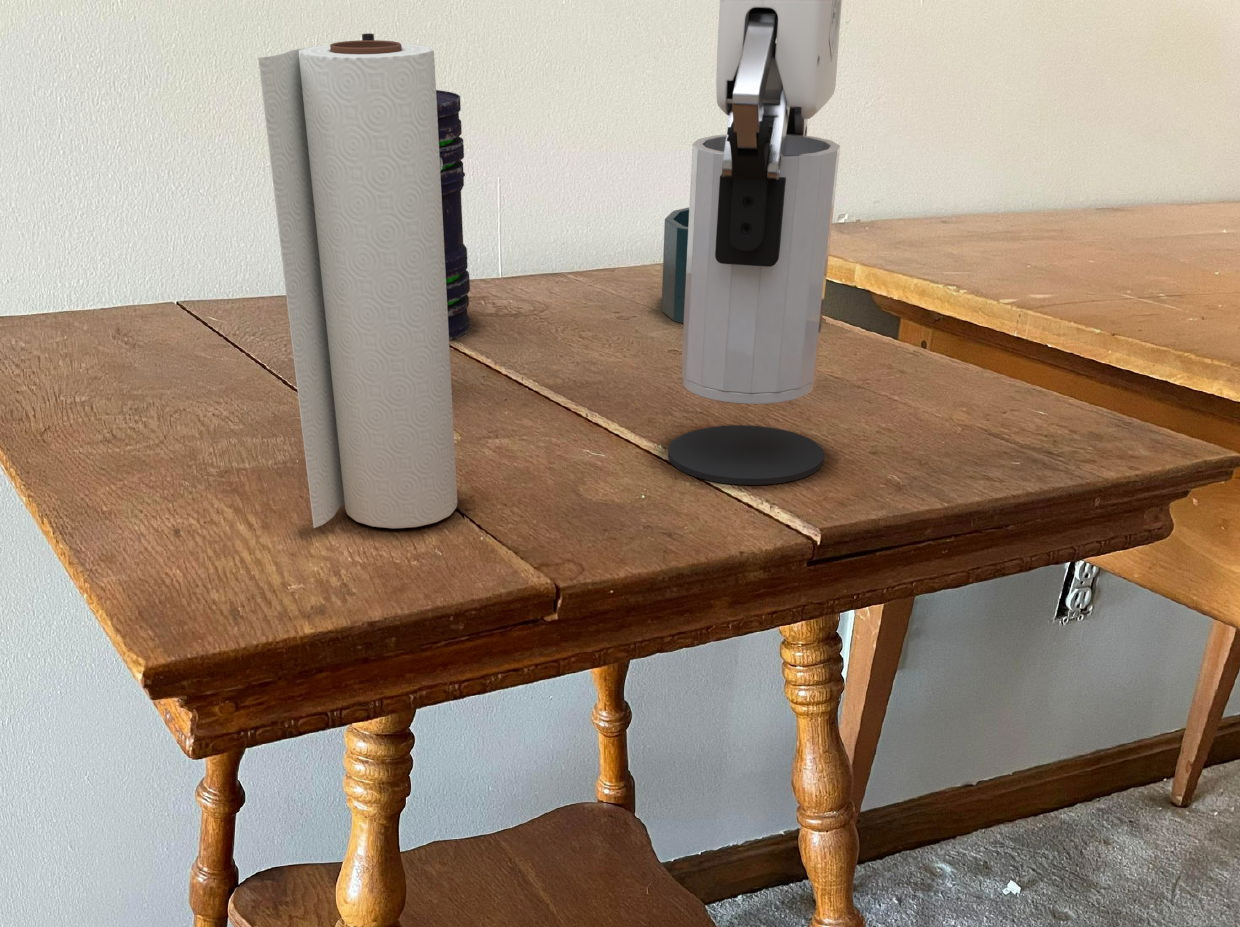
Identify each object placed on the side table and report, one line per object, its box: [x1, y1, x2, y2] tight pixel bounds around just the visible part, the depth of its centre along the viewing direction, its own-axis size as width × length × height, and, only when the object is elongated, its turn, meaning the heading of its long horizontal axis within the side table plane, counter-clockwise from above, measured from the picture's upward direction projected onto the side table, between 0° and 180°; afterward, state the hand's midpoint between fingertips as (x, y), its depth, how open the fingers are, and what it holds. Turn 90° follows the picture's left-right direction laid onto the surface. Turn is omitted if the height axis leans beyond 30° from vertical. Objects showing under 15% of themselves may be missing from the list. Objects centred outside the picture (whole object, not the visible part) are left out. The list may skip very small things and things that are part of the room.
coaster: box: [667, 424, 825, 486], centre depth 80 cm, size 9×9×1 cm
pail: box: [661, 206, 689, 324], centre depth 104 cm, size 11×11×6 cm
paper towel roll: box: [257, 39, 458, 529], centre depth 68 cm, size 7×6×21 cm
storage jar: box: [436, 89, 471, 341], centre depth 98 cm, size 10×10×15 cm
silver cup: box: [680, 133, 841, 405], centre depth 74 cm, size 7×7×12 cm
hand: (759, 244), depth 73 cm, fingers closed on silver cup, 7 cm apart
